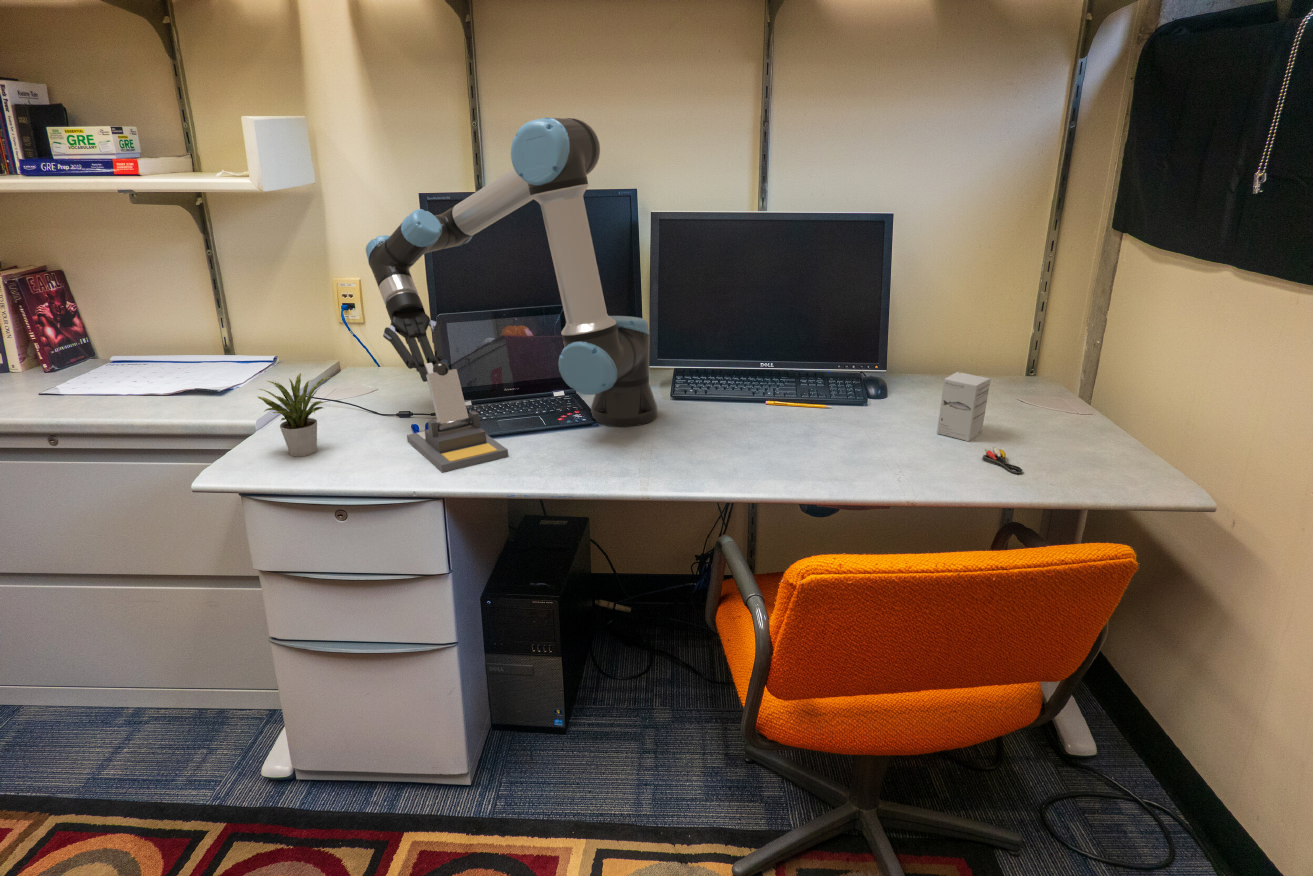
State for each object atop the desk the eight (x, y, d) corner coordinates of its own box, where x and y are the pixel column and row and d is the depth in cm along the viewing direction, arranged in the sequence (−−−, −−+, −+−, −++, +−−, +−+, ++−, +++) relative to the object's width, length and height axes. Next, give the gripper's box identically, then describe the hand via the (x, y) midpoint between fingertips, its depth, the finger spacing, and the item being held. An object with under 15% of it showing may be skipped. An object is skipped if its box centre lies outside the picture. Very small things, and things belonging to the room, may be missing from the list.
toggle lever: (436, 433, 168) (420, 366, 167) (469, 426, 171) (452, 360, 171) (441, 431, 165) (424, 363, 165) (474, 424, 169) (457, 357, 168)
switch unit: (407, 441, 174) (403, 410, 172) (469, 428, 182) (466, 398, 179) (442, 472, 159) (438, 438, 156) (508, 456, 166) (505, 424, 164)
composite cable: (1025, 475, 157) (1027, 464, 156) (1001, 477, 156) (1003, 465, 155) (999, 456, 166) (1000, 445, 165) (976, 457, 165) (978, 446, 164)
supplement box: (935, 434, 177) (942, 378, 172) (950, 425, 182) (957, 370, 177) (968, 442, 172) (977, 385, 167) (983, 433, 177) (991, 377, 172)
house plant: (327, 432, 180) (315, 360, 174) (356, 448, 170) (344, 373, 165) (260, 449, 170) (245, 374, 164) (287, 468, 161) (272, 389, 155)
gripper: (427, 306, 186) (462, 395, 179) (370, 314, 179) (404, 406, 172) (434, 287, 180) (470, 378, 173) (374, 294, 173) (409, 389, 166)
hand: (437, 392), depth 173 cm, fingers closed
